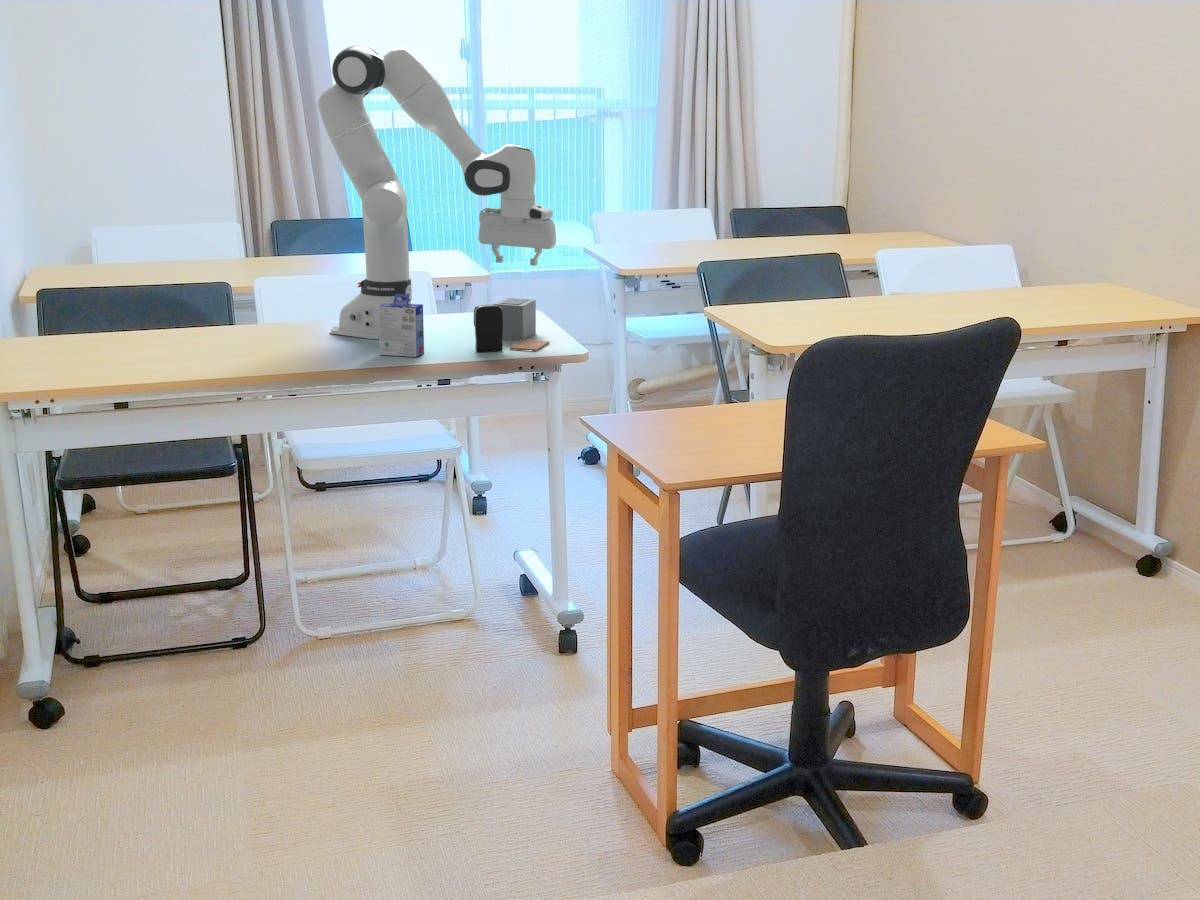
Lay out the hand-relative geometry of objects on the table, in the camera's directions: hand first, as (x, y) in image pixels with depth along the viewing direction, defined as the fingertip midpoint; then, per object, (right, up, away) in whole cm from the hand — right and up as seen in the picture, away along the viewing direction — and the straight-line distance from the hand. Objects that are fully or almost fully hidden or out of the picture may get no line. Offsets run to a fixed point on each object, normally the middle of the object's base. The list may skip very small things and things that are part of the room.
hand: (516, 263), depth 307 cm
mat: (+4, -22, -9) cm, 25 cm away
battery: (-6, -24, -15) cm, 29 cm away
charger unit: (-1, -18, +3) cm, 19 cm away
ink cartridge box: (-26, -25, -20) cm, 42 cm away
